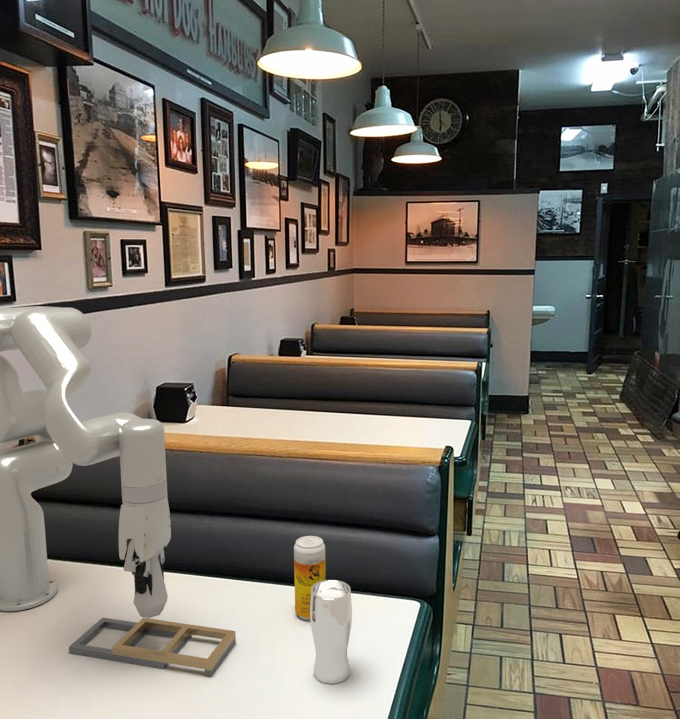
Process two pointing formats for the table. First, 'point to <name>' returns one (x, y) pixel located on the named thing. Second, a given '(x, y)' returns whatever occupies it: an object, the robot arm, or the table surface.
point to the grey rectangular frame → (103, 653)
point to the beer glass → (331, 629)
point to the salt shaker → (156, 602)
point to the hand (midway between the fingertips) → (149, 589)
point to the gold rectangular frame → (167, 652)
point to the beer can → (307, 571)
